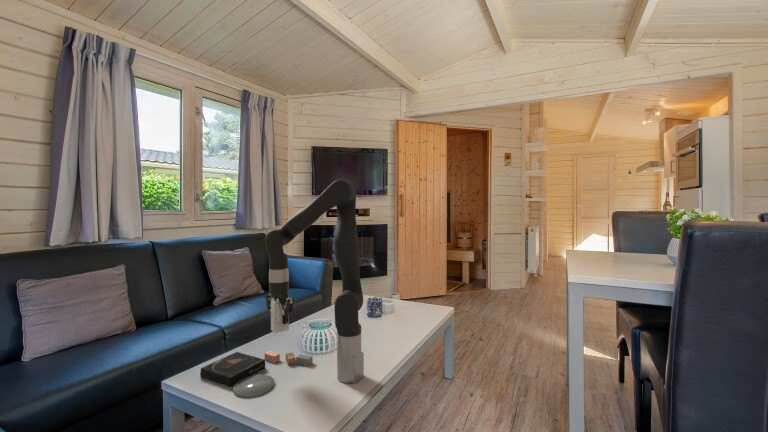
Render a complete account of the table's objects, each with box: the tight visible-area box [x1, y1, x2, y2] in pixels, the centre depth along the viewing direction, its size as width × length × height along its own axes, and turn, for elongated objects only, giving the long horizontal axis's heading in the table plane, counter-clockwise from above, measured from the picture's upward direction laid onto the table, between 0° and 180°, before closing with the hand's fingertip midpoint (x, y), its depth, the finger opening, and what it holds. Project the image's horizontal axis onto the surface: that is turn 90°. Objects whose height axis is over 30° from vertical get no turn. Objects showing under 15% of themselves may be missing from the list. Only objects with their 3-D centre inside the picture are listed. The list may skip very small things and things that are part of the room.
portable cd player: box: [199, 351, 266, 388], centre depth 137 cm, size 16×17×4 cm
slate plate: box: [232, 374, 275, 398], centre depth 127 cm, size 14×14×1 cm
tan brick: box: [285, 351, 297, 366], centre depth 147 cm, size 6×3×3 cm, turn 25°
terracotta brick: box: [264, 350, 281, 364], centre depth 148 cm, size 6×3×3 cm, turn 57°
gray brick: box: [295, 353, 314, 367], centre depth 145 cm, size 6×3×3 cm, turn 69°
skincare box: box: [270, 300, 290, 334], centre depth 137 cm, size 6×4×12 cm
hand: (279, 322), depth 138 cm, fingers closed on skincare box, 5 cm apart
